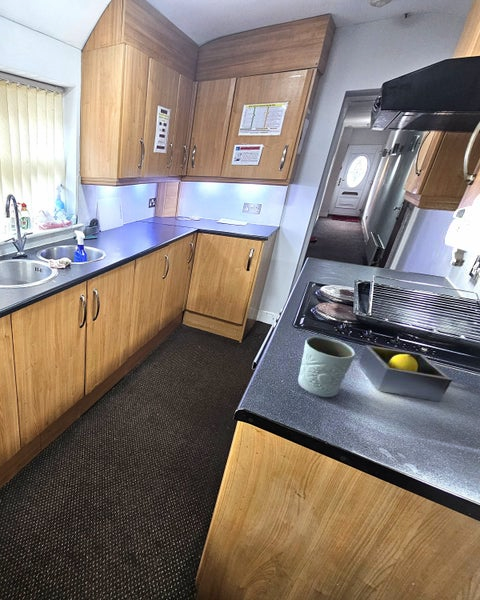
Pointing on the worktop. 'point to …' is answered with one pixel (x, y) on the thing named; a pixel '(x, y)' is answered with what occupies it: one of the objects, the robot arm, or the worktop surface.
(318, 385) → the pale green embossed cup
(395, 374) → the open grey rectangular container
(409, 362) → the lemon
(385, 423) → the worktop surface
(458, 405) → the worktop surface
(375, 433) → the worktop surface
